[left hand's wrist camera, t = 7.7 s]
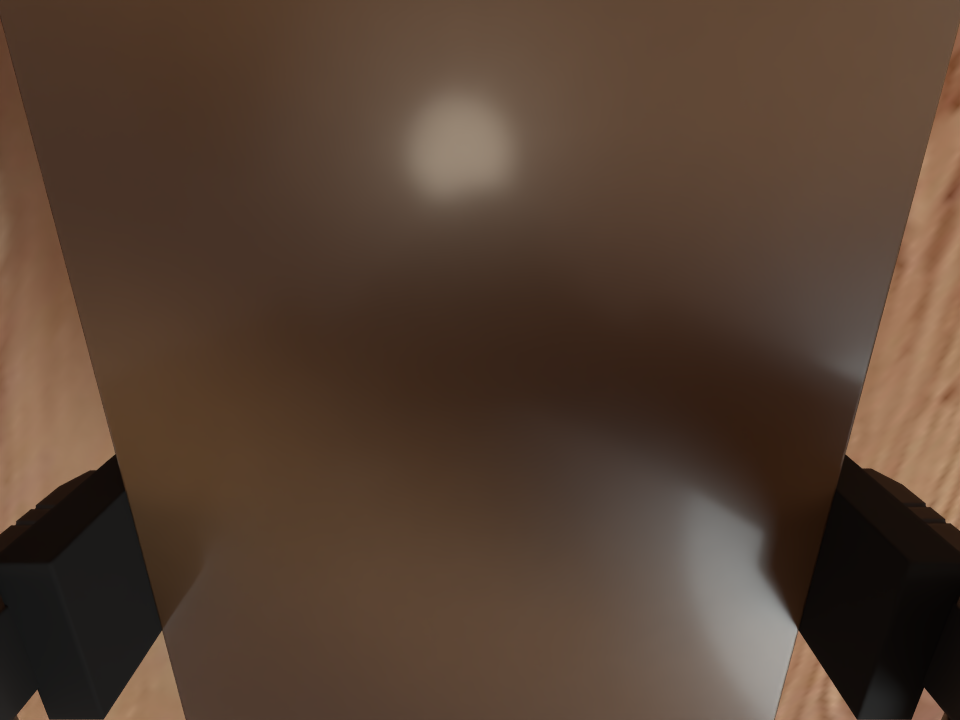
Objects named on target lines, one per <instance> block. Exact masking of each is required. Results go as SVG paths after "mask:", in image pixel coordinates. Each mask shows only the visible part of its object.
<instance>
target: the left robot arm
mask: <svg viewBox="0 0 960 720" xmlns="http://www.w3.org/2000/svg"><path fill="white" fill-rule="evenodd" d="M161 631H162V627H161V624H160V620H159V616H158V612H157V609H156V605H155V601H154V597H153V593H152V590H151V586H150V582H149V578H148V574H147V571H146V567H145V563H144V559H143V556H142V552H141V548H140V544H139V540H138V537H137V533H136V529H135V525H134V521H133V518H132V514H131V510H130V506H129V503H128V499H127V495H126V491H125V487H124V484H123V480H122V476H121V472H120V468H119V465H118V461H117V457H116V454H115V455H114V456H113V457H112V458H111V459H109V460H108V461H107V462H106V463H105V464H103V465H102V466H101V467H100V468H99V469H98V470H90V471H88V472H86V473H84V474H82V475H80V476H78V477H76V478H75V479H73V480H71V481H69V482H67V483H65V484H63V485H61V486H59V487H58V488H57V489H55V490H54V491H53V492H52V493H50V494H49V495H48V496H47V497H46V498H44V499H43V500H42V501H41V502H39V503H38V504H37V505H36V508H35V509H31V510H30V511H28V512H27V513H26V514H25V515H23V516H22V517H21V518H20V519H19V520H17V521H16V525H11V526H10V527H9V528H7V529H6V530H5V531H4V532H3V533H1V534H0V720H19V719H18V717H17V714H18V713H19V711H20V710H21V709H22V708H23V706H24V705H25V704H26V703H27V702H28V700H29V699H30V698H31V697H32V695H33V694H34V693H35V692H36V690H37V689H38V692H39V695H40V697H41V700H42V702H43V705H44V707H45V710H46V712H47V715H48V717H49V720H104V718H105V717H106V715H107V713H108V712H109V710H110V709H111V707H112V706H113V704H114V703H115V701H116V700H117V698H118V697H119V695H120V694H121V692H122V691H123V689H124V688H125V686H126V684H127V683H128V681H129V680H130V678H131V677H132V675H133V674H134V672H135V671H136V669H137V668H138V666H139V665H140V663H141V662H142V660H143V658H144V657H145V655H146V654H147V652H148V651H149V649H150V648H151V646H152V645H153V643H154V642H155V640H156V639H157V637H158V636H159V634H160V632H161ZM799 632H800V633H801V635H802V636H803V638H804V639H805V641H806V642H807V644H808V645H809V647H810V648H811V650H812V651H813V653H814V654H815V656H816V658H817V659H818V661H819V662H820V664H821V665H822V667H823V668H824V670H825V671H826V673H827V674H828V676H829V677H830V679H831V680H832V682H833V684H834V685H835V687H836V688H837V690H838V691H839V693H840V694H841V696H842V697H843V699H844V700H845V702H846V703H847V705H848V706H849V708H850V710H851V711H852V713H853V714H854V716H855V717H856V719H857V720H911V719H912V717H913V714H914V712H915V709H916V707H917V704H918V702H919V699H920V697H921V694H922V692H923V689H924V688H925V689H926V690H927V691H928V693H929V694H930V695H931V696H932V697H933V699H934V700H935V701H936V702H937V704H938V705H939V706H940V707H941V709H942V710H943V711H944V715H943V717H942V719H941V720H960V531H959V530H958V529H957V528H955V527H954V526H953V525H952V524H951V523H946V522H945V519H944V518H943V517H942V516H941V515H939V514H938V513H937V512H936V511H934V510H933V509H932V508H931V507H926V503H924V502H923V501H922V500H921V499H920V498H918V497H917V496H916V495H915V494H913V493H912V492H911V491H910V490H908V489H907V488H906V487H905V486H903V485H902V484H900V483H898V482H896V481H894V480H892V479H890V478H889V477H887V476H885V475H883V474H881V473H879V472H877V471H875V470H873V469H862V468H861V467H860V466H858V465H857V464H856V463H855V462H854V461H852V460H851V459H850V458H849V457H848V456H847V455H845V457H844V460H843V464H842V468H841V472H840V476H839V479H838V483H837V487H836V491H835V494H834V498H833V502H832V506H831V509H830V513H829V517H828V521H827V524H826V528H825V532H824V536H823V540H822V543H821V547H820V551H819V555H818V558H817V562H816V566H815V570H814V573H813V577H812V581H811V585H810V588H809V592H808V596H807V600H806V604H805V607H804V611H803V615H802V619H801V622H800V626H799Z"/></svg>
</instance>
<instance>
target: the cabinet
mask: <svg viewBox="0 0 960 720" xmlns="http://www.w3.org/2000/svg"><path fill="white" fill-rule="evenodd" d="M0 18H1V21H2V25H3V29H4V33H5V37H6V40H7V44H8V48H9V52H10V56H11V59H12V63H13V67H14V71H15V74H16V78H17V82H18V86H19V90H20V93H21V97H22V101H23V105H24V109H25V112H26V116H27V120H28V124H29V128H30V131H31V135H32V139H33V143H34V146H35V150H36V154H37V158H38V162H39V165H40V169H41V173H42V177H43V181H44V184H45V188H46V192H47V196H48V199H49V203H50V207H51V211H52V215H53V218H54V222H55V226H56V230H57V234H58V237H59V241H60V245H61V249H62V253H63V256H64V260H65V264H66V268H67V271H68V275H69V279H70V283H71V287H72V290H73V294H74V298H75V302H76V306H77V309H78V313H79V317H80V321H81V324H82V328H83V332H84V336H85V340H86V343H87V347H88V351H89V355H90V359H91V362H92V366H93V370H94V374H95V378H96V381H97V385H98V389H99V393H100V396H101V400H102V404H103V408H104V412H105V415H106V419H107V423H108V427H109V431H110V434H111V438H112V442H113V446H114V449H115V453H116V457H117V461H118V465H119V468H120V472H121V476H122V480H123V484H124V487H125V491H126V495H127V499H128V503H129V506H130V510H131V514H132V518H133V521H134V525H135V529H136V533H137V537H138V540H139V544H140V548H141V552H142V556H143V559H144V563H145V567H146V571H147V574H148V578H149V582H150V586H151V590H152V593H153V597H154V601H155V605H156V609H157V612H158V616H159V620H160V624H161V627H162V631H163V635H164V639H165V643H166V646H167V650H168V654H169V658H170V662H171V665H172V669H173V673H174V677H175V681H176V684H177V688H178V692H179V696H180V699H181V703H182V707H183V711H184V715H185V718H186V720H775V717H776V713H777V709H778V705H779V701H780V698H781V694H782V690H783V686H784V683H785V679H786V675H787V671H788V668H789V664H790V660H791V656H792V653H793V649H794V645H795V641H796V637H797V634H798V630H799V626H800V622H801V619H802V615H803V611H804V607H805V604H806V600H807V596H808V592H809V588H810V585H811V581H812V577H813V573H814V570H815V566H816V562H817V558H818V555H819V551H820V547H821V543H822V540H823V536H824V532H825V528H826V524H827V521H828V517H829V513H830V509H831V506H832V502H833V498H834V494H835V491H836V487H837V483H838V479H839V476H840V472H841V468H842V464H843V460H844V457H845V453H846V449H847V445H848V442H849V438H850V434H851V430H852V427H853V423H854V419H855V415H856V411H857V408H858V404H859V400H860V396H861V393H862V389H863V385H864V381H865V378H866V374H867V370H868V366H869V363H870V359H871V355H872V351H873V347H874V344H875V340H876V336H877V332H878V329H879V325H880V321H881V317H882V314H883V310H884V306H885V302H886V298H887V295H888V291H889V287H890V283H891V280H892V276H893V272H894V268H895V265H896V261H897V257H898V253H899V250H900V246H901V242H902V238H903V234H904V231H905V227H906V223H907V219H908V216H909V212H910V208H911V204H912V201H913V197H914V193H915V189H916V186H917V182H918V178H919V174H920V170H921V167H922V163H923V159H924V155H925V152H926V148H927V144H928V140H929V137H930V133H931V129H932V125H933V121H934V118H935V114H936V110H937V106H938V103H939V99H940V95H941V91H942V88H943V84H944V80H945V76H946V73H947V69H948V65H949V61H950V57H951V54H952V50H953V46H954V42H955V39H956V35H957V31H958V27H959V24H960V0H0Z"/></svg>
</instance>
